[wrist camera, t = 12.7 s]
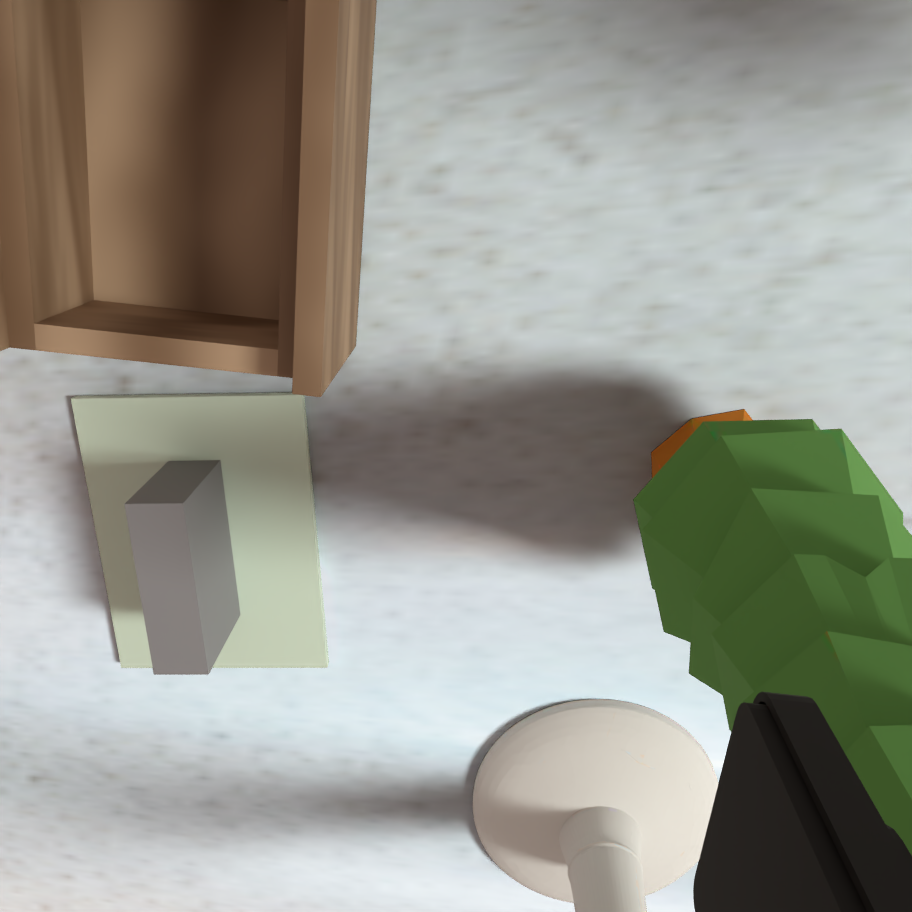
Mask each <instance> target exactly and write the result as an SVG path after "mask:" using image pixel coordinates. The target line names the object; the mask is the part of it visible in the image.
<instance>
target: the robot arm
mask: <svg viewBox="0 0 912 912" xmlns="http://www.w3.org/2000/svg"><path fill="white" fill-rule="evenodd" d="M693 891H694V907H695V912H912V856H911V854H910V852H909V850H908V849H907V847H906V845H905V844H904V842H903V840H902V839H901V838H900V836H899V835H898V834H897V832H896V831H895V830H894V829H893V828H891V827H890V826H888V825H886V824H885V822H884V821H883V819H882V817H881V815H880V814H879V812H878V810H877V808H876V807H875V805H874V803H873V801H872V800H871V798H870V796H869V794H868V793H867V791H866V789H865V787H864V786H863V784H862V782H861V780H860V779H859V777H858V775H857V773H856V772H855V770H854V768H853V766H852V765H851V763H850V761H849V759H848V758H847V756H846V754H845V752H844V751H843V749H842V747H841V745H840V744H839V742H838V740H837V738H836V737H835V735H834V733H833V731H832V730H831V728H830V726H829V724H828V723H827V721H826V719H825V718H824V716H823V714H822V712H821V711H820V709H819V707H818V705H817V704H816V702H815V701H814V700H813V699H812V698H810V697H807V696H798V695H789V694H780V693H771V692H760V693H758V694H757V696H756V697H755V699H754V701H753V703H746V702H743V703H741V704H740V706H739V707H738V710H737V713H736V717H735V721H734V724H733V728H732V732H731V736H730V740H729V744H728V748H727V752H726V756H725V760H724V764H723V768H722V772H721V776H720V780H719V784H718V787H717V791H716V795H715V799H714V803H713V807H712V811H711V815H710V819H709V823H708V827H707V831H706V835H705V839H704V843H703V847H702V850H701V854H700V858H699V862H698V866H697V870H696V874H695V879H694V890H693Z"/></svg>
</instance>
